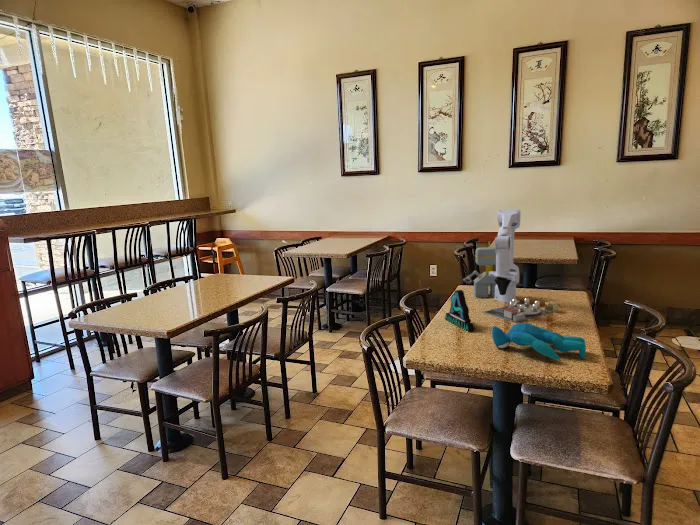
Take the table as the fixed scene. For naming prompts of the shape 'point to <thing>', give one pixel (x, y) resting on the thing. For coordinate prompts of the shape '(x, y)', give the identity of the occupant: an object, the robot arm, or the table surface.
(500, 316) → the base plate
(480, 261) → the toy
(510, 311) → the red-ended rectangular metal block
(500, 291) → the robot arm
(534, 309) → the pinned metal disc
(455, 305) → the decorative sign
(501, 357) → the table surface
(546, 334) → the toy
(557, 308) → the link block
